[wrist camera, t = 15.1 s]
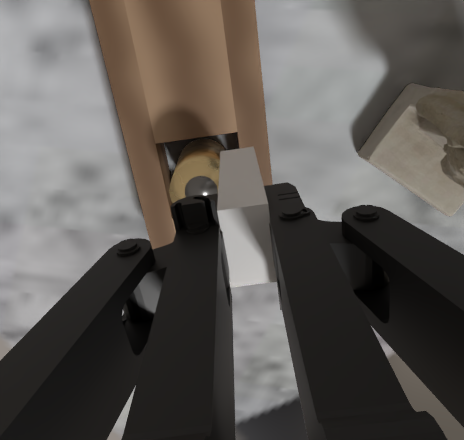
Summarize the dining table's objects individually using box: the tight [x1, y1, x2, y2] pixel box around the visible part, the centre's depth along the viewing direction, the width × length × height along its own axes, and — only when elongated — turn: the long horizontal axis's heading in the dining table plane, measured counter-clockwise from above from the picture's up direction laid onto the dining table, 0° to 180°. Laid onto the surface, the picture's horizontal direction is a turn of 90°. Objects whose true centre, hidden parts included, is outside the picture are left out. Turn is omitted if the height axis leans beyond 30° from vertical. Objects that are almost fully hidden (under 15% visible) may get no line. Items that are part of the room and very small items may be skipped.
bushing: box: [169, 138, 226, 203], centre depth 34 cm, size 5×5×8 cm
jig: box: [89, 0, 272, 249], centre depth 34 cm, size 12×22×4 cm, turn 8°
